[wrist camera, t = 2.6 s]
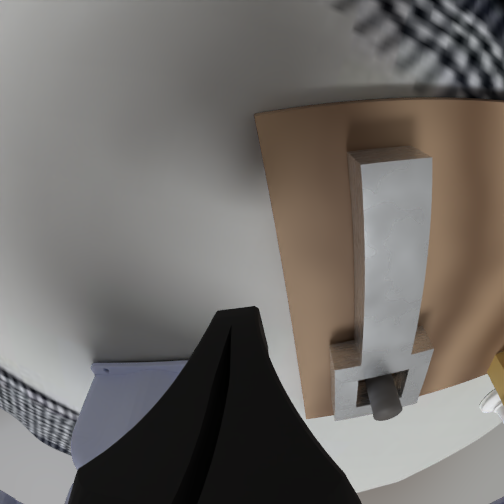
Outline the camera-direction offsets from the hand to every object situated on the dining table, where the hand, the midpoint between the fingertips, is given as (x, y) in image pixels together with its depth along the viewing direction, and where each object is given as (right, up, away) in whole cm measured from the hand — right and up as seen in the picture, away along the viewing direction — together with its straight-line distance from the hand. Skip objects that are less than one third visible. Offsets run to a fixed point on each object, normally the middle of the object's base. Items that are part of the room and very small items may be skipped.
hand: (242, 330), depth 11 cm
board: (+12, +1, +7) cm, 14 cm away
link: (+7, 0, +6) cm, 9 cm away
